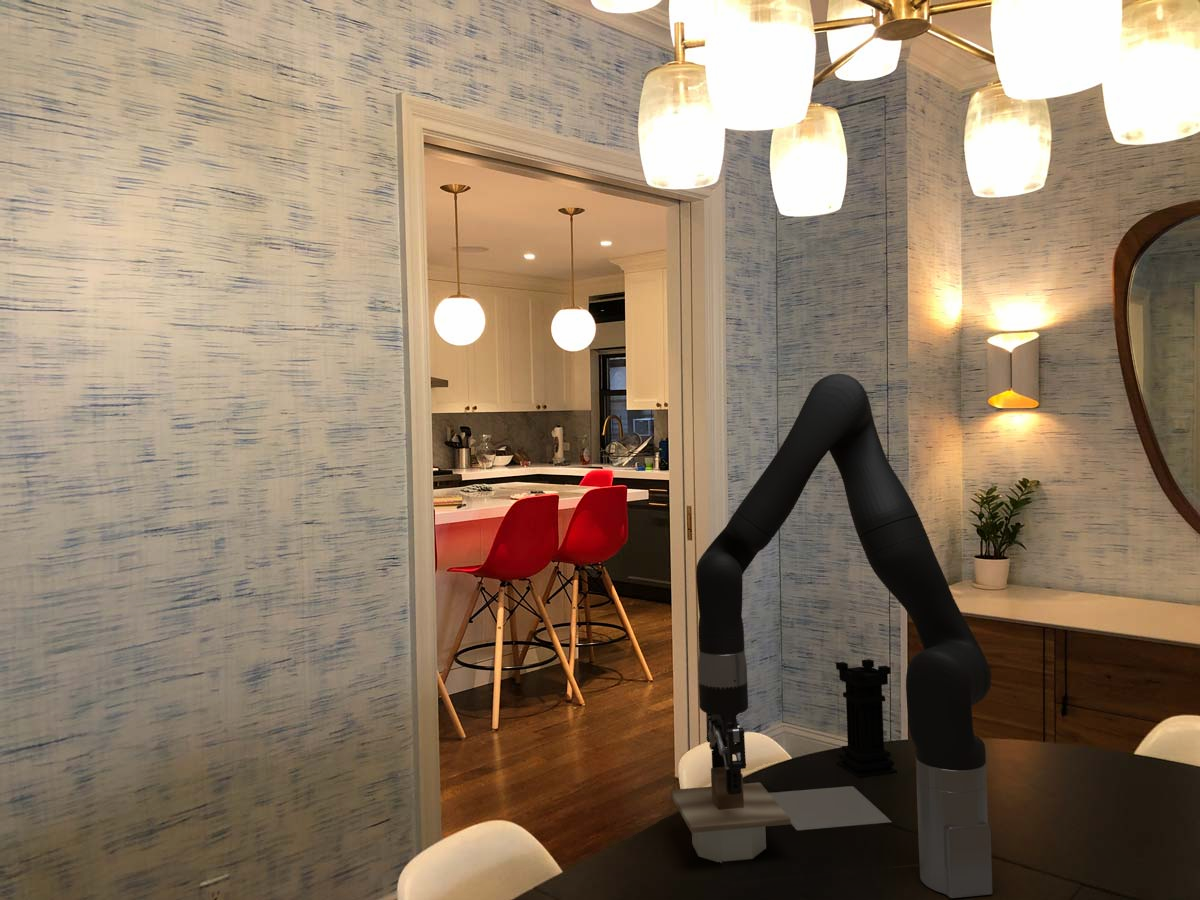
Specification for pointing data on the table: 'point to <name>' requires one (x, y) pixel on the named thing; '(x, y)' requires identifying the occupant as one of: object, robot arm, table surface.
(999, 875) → the table surface
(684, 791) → the lid
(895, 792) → the table surface
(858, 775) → the chess piece
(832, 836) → the table surface
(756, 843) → the bowl
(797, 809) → the mat
